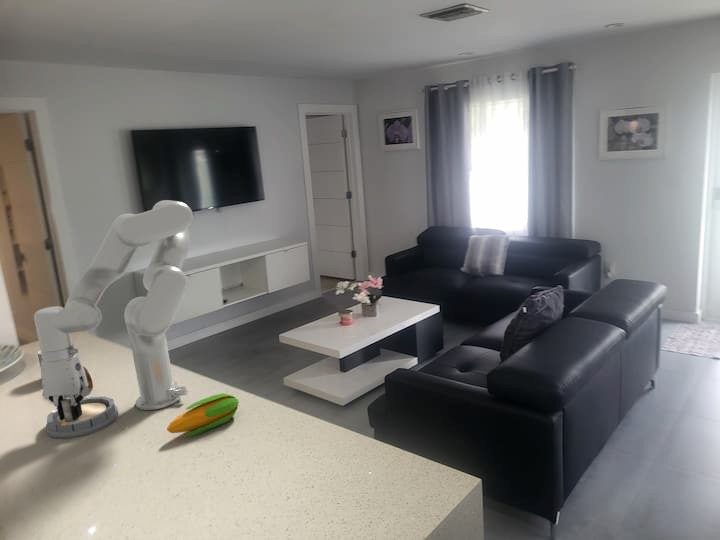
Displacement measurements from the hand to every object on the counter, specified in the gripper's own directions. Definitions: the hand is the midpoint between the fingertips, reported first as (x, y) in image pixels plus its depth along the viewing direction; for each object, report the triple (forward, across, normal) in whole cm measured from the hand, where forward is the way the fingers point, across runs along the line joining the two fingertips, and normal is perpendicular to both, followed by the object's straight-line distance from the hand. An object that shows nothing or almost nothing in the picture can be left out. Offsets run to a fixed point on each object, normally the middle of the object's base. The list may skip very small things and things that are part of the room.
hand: (71, 417), depth 149 cm
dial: (+2, -1, -4) cm, 4 cm away
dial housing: (+4, -1, -4) cm, 5 cm away
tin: (+4, +14, -26) cm, 30 cm away
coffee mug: (+4, +26, -36) cm, 45 cm away
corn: (+4, -38, +1) cm, 38 cm away
